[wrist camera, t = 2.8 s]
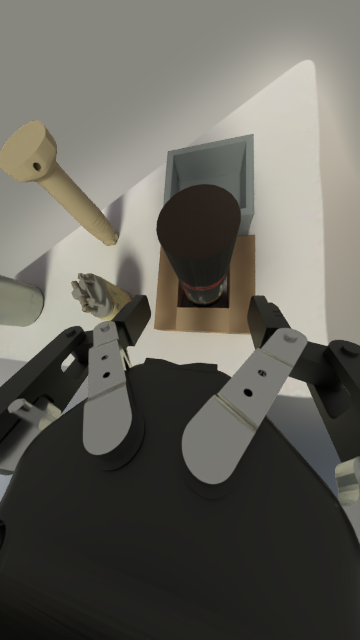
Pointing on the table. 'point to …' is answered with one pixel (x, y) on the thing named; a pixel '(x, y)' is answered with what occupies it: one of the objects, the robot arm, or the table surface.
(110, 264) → the table surface
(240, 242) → the holder
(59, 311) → the table surface
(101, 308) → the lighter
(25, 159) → the handle
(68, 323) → the table surface
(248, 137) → the bin
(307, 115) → the table surface
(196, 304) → the deodorant
